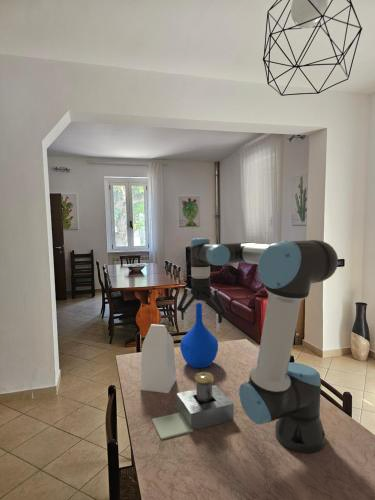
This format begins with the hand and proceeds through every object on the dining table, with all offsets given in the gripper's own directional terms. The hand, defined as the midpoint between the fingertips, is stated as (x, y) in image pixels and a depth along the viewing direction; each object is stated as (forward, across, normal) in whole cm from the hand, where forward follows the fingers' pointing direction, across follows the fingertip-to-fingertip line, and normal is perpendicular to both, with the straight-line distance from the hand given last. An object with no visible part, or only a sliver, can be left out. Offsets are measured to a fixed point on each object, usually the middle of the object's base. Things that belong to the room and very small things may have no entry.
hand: (201, 329), depth 133 cm
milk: (+26, +19, +1) cm, 32 cm away
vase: (+26, +9, -24) cm, 36 cm away
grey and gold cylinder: (+26, -5, +15) cm, 31 cm away
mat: (+26, +3, +25) cm, 36 cm away
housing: (+26, -5, +15) cm, 31 cm away
